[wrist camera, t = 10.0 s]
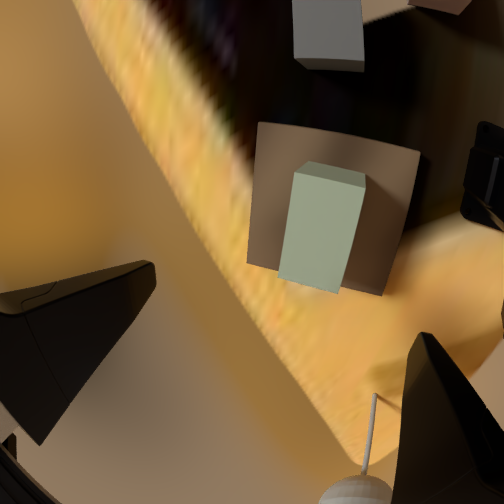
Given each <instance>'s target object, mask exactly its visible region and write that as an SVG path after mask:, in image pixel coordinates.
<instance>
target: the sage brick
mask: <svg viewBox="0 0 504 504" xmlns="http://www.w3.org/2000/svg"><path fill="white" fill-rule="evenodd" d="M365 189H366V184H365V174H364V173H360V172H356V171H352V170H347V169H343V168H339V167H334V166H330V165H325V164H321V163H316V162H311V161H308V162H307V163H305V164H304V165H303V166H302V167H300V168H299V169H298V170H296V171H295V172H294V178H293V185H292V191H291V198H290V205H289V211H288V217H287V224H286V230H285V236H284V242H283V248H282V254H281V260H280V266H279V272H278V278H281V279H285V280H288V281H292V282H296V283H299V284H303V285H307V286H310V287H314V288H318V289H321V290H325V291H329V292H333V293H336V294H338V292H339V289H340V285H341V282H342V279H343V275H344V272H345V268H346V265H347V261H348V258H349V254H350V250H351V247H352V243H353V239H354V235H355V231H356V227H357V223H358V219H359V215H360V211H361V207H362V202H363V198H364V194H365Z"/></svg>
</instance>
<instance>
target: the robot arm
mask: <svg viewBox="0 0 504 504" xmlns="http://www.w3.org/2000/svg"><path fill="white" fill-rule="evenodd" d="M484 125H485V126H486V127H487V132H484V131H483V126H484ZM463 186H464V188H465V192H464V196H463V200H462V204H461V207H460V213H461V215H462V216H463V217H464V218H465V219H468V220H471V221H474V222H477V223H480V224H483V225H486V226H489V227H492V228H495V229H498V230H501V231H503V232H504V129H503V128H501V127H499V126H496V125H494V124H492V123H489V122H487V121H481V122H479V123H478V126H477V133H476V139H475V145H474V147H472V148H471V149H470V154H469V159H468V164H467V169H466V174H465V178H464V183H463ZM467 208H470V211H469V213H468V214H465V210H466V209H467ZM155 287H156V273H155V265H154V263H152V262H150V261H146V260H141V261H136V262H132V263H128V264H124V265H120V266H115V267H111V268H107V269H103V270H99V271H95V272H91V273H87V274H83V275H80V276H75V277H71V278H67V279H63V280H59V281H58V282H57V281H55V282H51V283H48V284H43V285H39V286H35V287H31V288H25V289H20V290H15V291H10V292H5V293H0V504H61V503H60V502H59V501H58V500H57V499H55V498H54V497H53V496H52V495H51V494H50V493H49V492H48V491H46V490H45V489H44V488H43V487H42V486H41V485H40V484H39V483H38V482H37V481H36V480H35V479H34V478H33V477H32V476H31V475H30V474H29V473H28V472H27V471H26V470H25V469H24V468H23V467H22V466H21V465H20V464H19V463H18V462H17V456H16V455H17V452H16V436H15V435H14V434H13V431H14V430H15V429H16V428H17V427H18V426H20V427H21V429H22V430H23V431H24V432H25V433H26V434H27V435H28V436H29V437H30V438H31V439H32V440H33V441H34V442H35V443H36V444H38V445H39V446H40V445H41V444H42V443H43V442H44V440H45V439H46V437H47V436H48V434H49V433H50V432H51V430H52V429H53V427H54V426H55V425H56V423H57V422H58V420H59V419H60V417H61V416H62V415H63V413H64V412H65V411H66V409H67V408H68V406H69V405H70V403H71V402H72V401H73V399H74V398H75V396H76V395H77V394H78V392H79V391H80V390H81V388H82V387H83V386H84V384H85V383H86V382H87V380H88V379H89V378H90V376H91V375H92V374H93V372H94V371H95V370H96V368H97V367H98V366H99V365H100V363H101V362H102V361H103V359H104V358H105V357H106V355H107V354H108V353H109V352H110V350H111V349H112V348H113V347H114V345H115V344H116V342H117V341H118V340H119V339H120V338H121V336H122V335H123V334H124V333H125V331H126V330H127V329H128V328H129V326H130V325H131V324H132V322H133V321H134V320H135V318H136V317H137V315H138V314H139V312H140V311H141V309H142V308H143V306H144V305H145V303H146V302H147V300H148V299H149V297H150V296H151V294H152V292H153V291H154V289H155ZM501 316H502V323H503V328H504V301H503V306H502V312H501ZM503 338H504V334H503ZM391 504H504V431H503V430H502V429H501V427H500V426H499V424H498V423H497V421H496V420H495V418H494V417H493V416H492V414H491V413H490V411H489V410H488V408H486V405H485V404H484V402H483V401H482V399H481V398H480V397H479V395H478V394H477V392H476V391H475V390H474V388H473V387H472V386H471V384H470V383H469V381H468V380H467V378H466V377H465V376H464V374H463V373H462V372H461V370H460V369H459V368H458V366H457V365H456V364H455V362H454V361H453V360H452V358H451V357H450V356H449V355H448V353H447V352H446V351H445V349H444V348H443V347H442V346H441V344H440V343H439V342H438V341H437V339H436V338H435V337H434V336H433V334H431V333H426V332H420V333H419V334H418V335H417V337H416V339H415V341H414V343H413V345H412V347H411V349H410V351H409V354H408V358H407V367H406V375H405V383H404V390H403V397H402V412H401V428H400V440H399V450H398V459H397V467H396V474H395V481H394V487H393V493H392V499H391Z"/></svg>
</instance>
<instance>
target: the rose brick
mask: <svg viewBox="0 0 504 504" xmlns="http://www.w3.org/2000/svg"><path fill="white" fill-rule="evenodd" d="M471 1H472V0H407V5H412V6H414V5H416V6H421V7H426V8H431V9H435V10H440V11H444V12H448V13H452V14H456V15H459V14H460V13H461V12H462V11H463V10H464V9H465V7H466V6H467V5H468V4H469V3H470V2H471Z"/></svg>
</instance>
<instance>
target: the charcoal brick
mask: <svg viewBox="0 0 504 504" xmlns="http://www.w3.org/2000/svg"><path fill="white" fill-rule="evenodd" d="M292 3H293V29H294V58H295V59H296V60H297V61H298V62H300V63H301V64H302V65H303V66H304V67H306V68H307V69H315V70H339V71H353V72H364V39H363V22H362V10H361V0H292Z"/></svg>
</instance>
